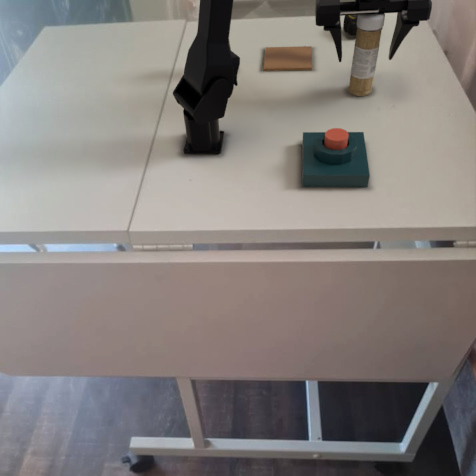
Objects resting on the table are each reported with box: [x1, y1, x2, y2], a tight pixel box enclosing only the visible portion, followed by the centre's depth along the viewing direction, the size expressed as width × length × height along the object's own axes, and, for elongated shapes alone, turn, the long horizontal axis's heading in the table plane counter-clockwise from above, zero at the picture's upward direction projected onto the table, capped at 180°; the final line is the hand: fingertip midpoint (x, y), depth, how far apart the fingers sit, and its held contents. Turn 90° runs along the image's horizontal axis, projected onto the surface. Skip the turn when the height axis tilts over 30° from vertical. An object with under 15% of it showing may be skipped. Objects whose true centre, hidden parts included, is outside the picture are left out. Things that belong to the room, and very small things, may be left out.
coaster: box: [262, 46, 313, 72], centre depth 102 cm, size 10×10×1 cm
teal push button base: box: [301, 131, 371, 188], centre depth 76 cm, size 12×10×4 cm
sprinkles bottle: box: [348, 13, 386, 97], centre depth 87 cm, size 5×5×13 cm
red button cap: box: [324, 127, 349, 150], centre depth 74 cm, size 4×4×2 cm
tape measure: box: [342, 15, 358, 37], centre depth 107 cm, size 7×7×4 cm
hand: (364, 60), depth 88 cm, fingers closed on sprinkles bottle, 8 cm apart
